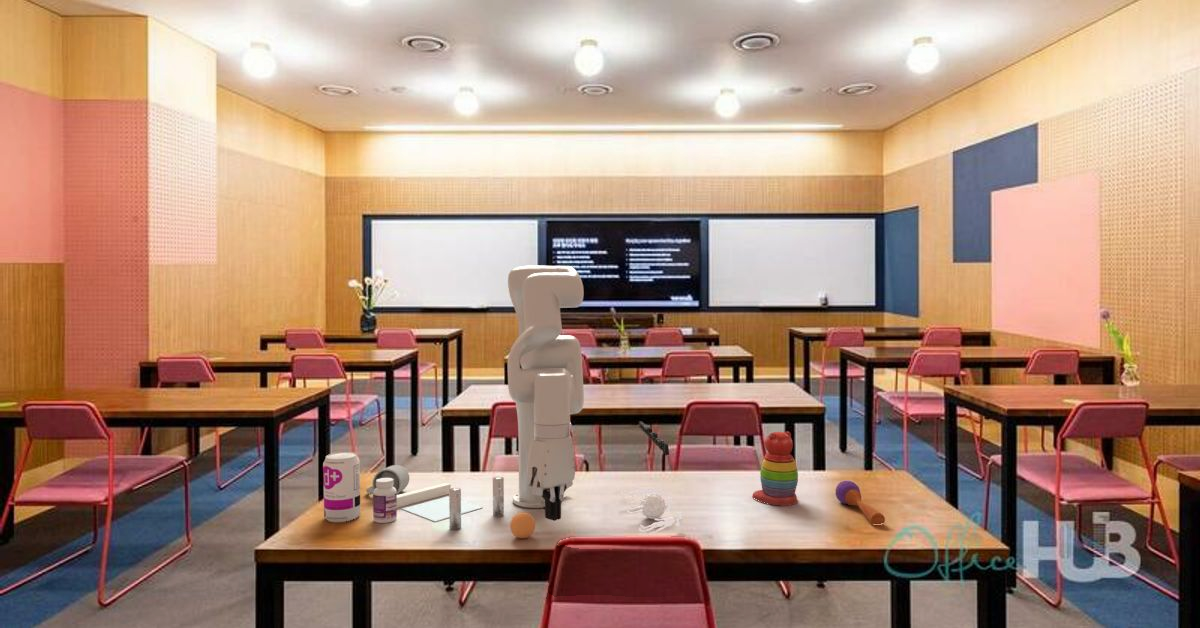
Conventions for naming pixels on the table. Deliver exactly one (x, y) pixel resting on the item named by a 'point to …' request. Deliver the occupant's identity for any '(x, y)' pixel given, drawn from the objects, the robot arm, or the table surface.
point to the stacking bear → (778, 471)
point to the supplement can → (341, 486)
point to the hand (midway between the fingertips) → (553, 518)
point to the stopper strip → (423, 494)
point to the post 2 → (498, 496)
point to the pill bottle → (384, 501)
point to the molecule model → (652, 502)
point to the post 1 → (455, 508)
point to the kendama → (857, 501)
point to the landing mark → (438, 509)
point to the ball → (522, 525)
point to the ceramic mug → (394, 472)
